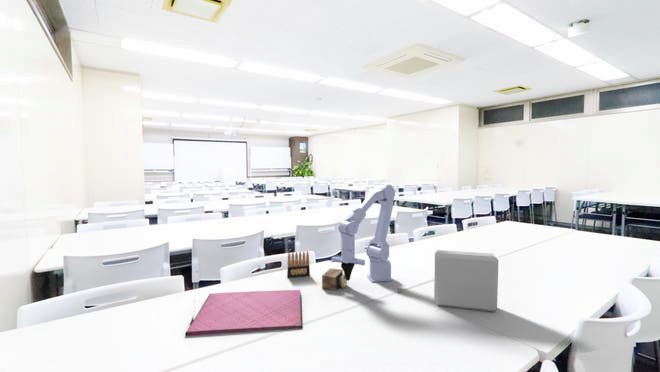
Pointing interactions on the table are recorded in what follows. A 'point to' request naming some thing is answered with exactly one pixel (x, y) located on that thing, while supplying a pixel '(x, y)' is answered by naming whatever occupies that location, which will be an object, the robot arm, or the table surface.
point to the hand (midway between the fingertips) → (348, 279)
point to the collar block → (331, 279)
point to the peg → (342, 280)
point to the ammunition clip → (298, 266)
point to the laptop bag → (248, 312)
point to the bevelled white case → (466, 280)
